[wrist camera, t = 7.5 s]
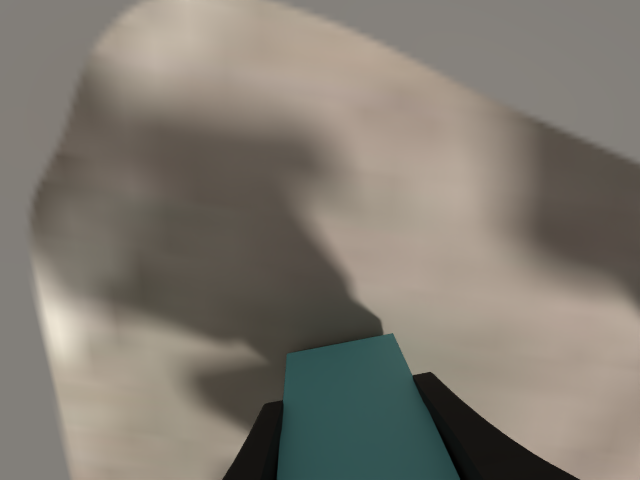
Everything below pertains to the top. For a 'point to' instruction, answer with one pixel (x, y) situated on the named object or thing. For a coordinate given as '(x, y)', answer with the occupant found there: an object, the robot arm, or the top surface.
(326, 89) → the top surface
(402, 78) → the top surface
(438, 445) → the teal rectangular block
